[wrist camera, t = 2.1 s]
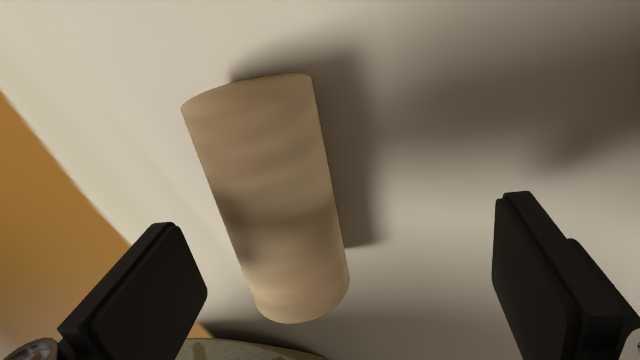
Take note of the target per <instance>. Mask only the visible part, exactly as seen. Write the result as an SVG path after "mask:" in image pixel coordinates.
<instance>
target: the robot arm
mask: <svg viewBox="0 0 640 360" xmlns="http://www.w3.org/2000/svg"><path fill="white" fill-rule="evenodd" d="M492 282H493V286H494V289H495V292H496V294H497V297H498V299H499V301H500V304H501V306H502V309H503V311H504V314H505V316H506V319H507V321H508V323H509V326H510V328H511V331H512V333H513V336H514V338H515V340H516V343H517V345H518V348H519V350H520V353H521V355H522V358H523V360H640V317H639V316H638V314H637V313H636V312H635V311H634V310H633V308H632V307H631V306H630V305H629V303H628V302H627V301H626V300H625V298H624V297H623V296H622V295H621V294H620V292H619V291H618V290H617V289H616V287H615V286H614V285H613V284H612V282H611V281H610V280H609V279H608V278H607V276H606V275H605V274H604V273H603V271H602V270H601V269H600V268H599V266H598V265H597V264H596V263H595V262H594V260H593V259H592V258H591V257H590V255H589V254H588V253H587V252H586V250H585V249H584V248H583V247H582V246H581V244H580V243H579V242H578V241H577V240H575V239H572V238H569V239H567V238H566V237H565V236H564V235H563V233H562V232H561V231H560V229H559V228H558V227H557V226H556V224H555V223H554V222H553V220H552V219H551V218H550V217H549V215H548V214H547V213H546V211H545V210H544V209H543V208H542V206H541V205H540V204H539V202H538V201H537V200H536V199H535V197H534V196H533V195H532V193H531V192H530V191H519V192H508V193H504V195H503V198H501V199H497V200H496V205H495V223H494V241H493V259H492ZM206 298H207V287H206V285H205V283H204V280H203V278H202V276H201V274H200V271H199V269H198V267H197V265H196V262H195V260H194V258H193V256H192V253H191V251H190V249H189V246H188V244H187V242H186V240H185V237H184V235H183V233H182V231H181V229H180V227H178V226H176V225H175V224H174V223H173V222H163V223H154V224H152V225H151V226H150V227H149V228H148V229H147V230H146V231H145V232H144V233H143V234H142V235H141V237H140V238H139V239H138V240H137V241H136V242H135V243H134V244H133V245H132V246H131V248H130V249H129V250H128V251H127V252H126V253H125V254H124V255H123V256H122V257H121V259H120V260H119V261H118V262H117V263H116V264H115V265H114V266H113V267H112V268H111V270H110V271H109V272H108V273H107V274H106V275H105V276H104V277H103V278H102V280H101V281H100V282H99V283H98V284H97V285H96V286H95V287H94V288H93V289H92V290H91V292H90V293H89V294H88V295H87V296H86V297H85V298H84V300H82V302H81V303H80V304H79V305H78V306H77V307H76V308H75V309H74V310H73V312H72V313H71V314H70V315H69V316H68V317H67V318H66V319H65V320H64V321H63V323H62V324H61V325H60V326H59V327H58V328H57V330H58V331H59V333H60V334H61V335H62V336H63V339H62V340H61V341H60V342H59V343H58V342H57V341H56V340H54V339H53V338H40V339H36V340H34V341H31V342H29V343H26V344H25V345H23V346H21V347H19V348H18V349H16V350H15V351H13V352H12V353H10V354H9V355H8V356H7V357H5V358H4V359H3V360H175V359H176V357H177V355H178V353H179V351H180V349H181V347H182V345H183V343H184V341H185V339H186V338H187V335H188V334H189V332H190V330H191V328H192V326H193V324H194V322H195V320H196V318H197V316H198V314H199V312H200V311H201V309H202V307H203V305H204V303H205V301H206Z"/></svg>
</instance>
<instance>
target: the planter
mask: <svg viewBox="0 0 640 360" xmlns="http://www.w3.org/2000/svg"><path fill="white" fill-rule="evenodd" d="M175 360H327V359H325V358H323V357H321V356H318V355H315V354H311V353H306V352H302V351H297V350H291V349H286V348H281V347H275V346H269V345H263V344H258V343H251V342H245V341H237V340H229V339H217V338H187V339H185V341H184V343H183V345H182V347H181V349H180V351H179V353H178V355H177V357H176V359H175Z"/></svg>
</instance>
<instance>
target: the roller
mask: <svg viewBox="0 0 640 360" xmlns="http://www.w3.org/2000/svg"><path fill="white" fill-rule="evenodd" d="M181 112H182V115H183V118H184V120H185V123H186V125H187V128H188V131H189V133H190V136H191V138H192V141H193V144H194V146H195V149H196V152H197V154H198V157H199V159H200V162H201V165H202V167H203V170H204V172H205V175H206V178H207V180H208V183H209V185H210V188H211V191H212V193H213V196H214V199H215V201H216V204H217V206H218V209H219V212H220V214H221V217H222V219H223V222H224V225H225V227H226V230H227V232H228V235H229V238H230V240H231V243H232V246H233V248H234V251H235V253H236V256H237V259H238V261H239V264H240V266H241V269H242V272H243V274H244V277H245V279H246V282H247V285H248V287H249V290H250V293H251V295H252V298H253V300H254V303H255V305H256V307H257V309H258V310H259V312H260V313H261V314H262V315H264V316H265V317H267V318H268V319H270V320H273V321H276V322H279V323H286V324H295V323H303V322H307V321H310V320H314V319H316V318H318V317H321V316H322V315H324V314H326V313H328V312H329V311H330V310H332V309H333V308H334V307H335V306H336V305H337V304H338V303H339V302H340V301H341V300H342V298H343V297H344V295H345V294H346V291H347V289H348V286H349V271H348V266H347V261H346V256H345V250H344V245H343V240H342V235H341V230H340V225H339V219H338V214H337V209H336V204H335V199H334V193H333V188H332V183H331V178H330V173H329V168H328V162H327V157H326V152H325V147H324V142H323V137H322V131H321V126H320V121H319V116H318V111H317V106H316V100H315V95H314V90H313V85H312V80H311V77H310V76H309V75H306V74H301V73H281V74H275V75H269V76H263V77H257V78H251V79H245V80H241V81H237V82H233V83H230V84H226V85H223V86H220V87H217V88H214V89H211V90H209V91H206V92H204V93H201V94H199V95H197V96H195V97H193V98H191V99H190V100H188V101H187V102H185V103H184V104H183V105H182V107H181Z"/></svg>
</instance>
